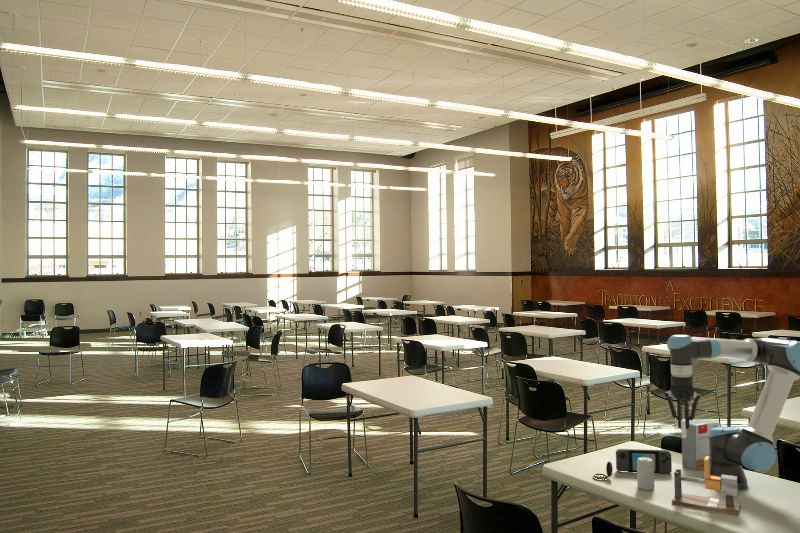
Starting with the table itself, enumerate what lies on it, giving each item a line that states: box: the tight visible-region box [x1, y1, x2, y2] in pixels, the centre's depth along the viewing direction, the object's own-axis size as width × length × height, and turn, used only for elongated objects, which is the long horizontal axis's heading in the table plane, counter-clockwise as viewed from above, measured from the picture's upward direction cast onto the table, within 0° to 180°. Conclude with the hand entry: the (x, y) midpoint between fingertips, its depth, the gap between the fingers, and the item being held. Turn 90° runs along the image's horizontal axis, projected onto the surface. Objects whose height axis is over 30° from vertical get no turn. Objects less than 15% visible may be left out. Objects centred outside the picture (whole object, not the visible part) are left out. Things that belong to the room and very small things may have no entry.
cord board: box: [671, 468, 741, 517], centre depth 226 cm, size 10×22×12 cm, turn 56°
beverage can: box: [636, 457, 655, 492], centre depth 246 cm, size 6×6×12 cm
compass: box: [592, 461, 613, 482], centre depth 258 cm, size 8×8×7 cm
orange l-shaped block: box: [703, 456, 721, 492], centre depth 225 cm, size 5×5×11 cm
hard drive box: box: [681, 418, 720, 471], centre depth 272 cm, size 16×8×20 cm, turn 114°
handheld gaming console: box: [615, 448, 673, 475], centre depth 265 cm, size 23×3×10 cm, turn 80°
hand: (684, 436), depth 231 cm, fingers closed
